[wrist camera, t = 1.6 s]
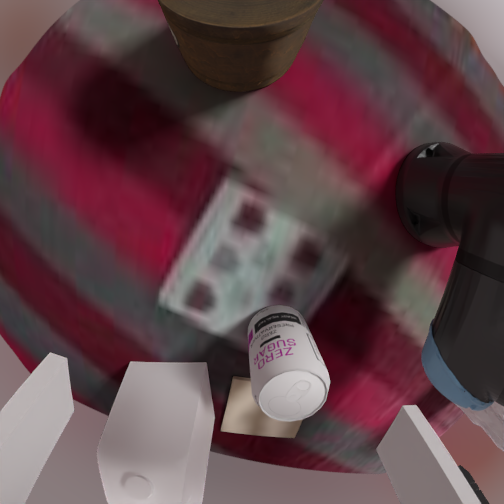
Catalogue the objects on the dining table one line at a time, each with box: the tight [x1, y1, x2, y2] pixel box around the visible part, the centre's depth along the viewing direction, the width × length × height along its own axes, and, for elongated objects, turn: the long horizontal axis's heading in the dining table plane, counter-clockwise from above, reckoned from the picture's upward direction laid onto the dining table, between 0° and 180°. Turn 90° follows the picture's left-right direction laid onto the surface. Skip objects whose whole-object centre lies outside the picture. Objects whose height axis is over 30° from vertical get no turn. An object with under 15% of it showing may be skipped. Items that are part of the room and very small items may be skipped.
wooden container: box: [158, 0, 323, 92], centre depth 23 cm, size 15×15×22 cm
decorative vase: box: [455, 401, 504, 451], centre depth 36 cm, size 11×11×25 cm
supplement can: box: [248, 305, 330, 422], centre depth 36 cm, size 8×8×15 cm
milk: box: [97, 362, 215, 504], centre depth 33 cm, size 12×12×26 cm
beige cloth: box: [221, 376, 303, 438], centre depth 46 cm, size 13×12×1 cm
